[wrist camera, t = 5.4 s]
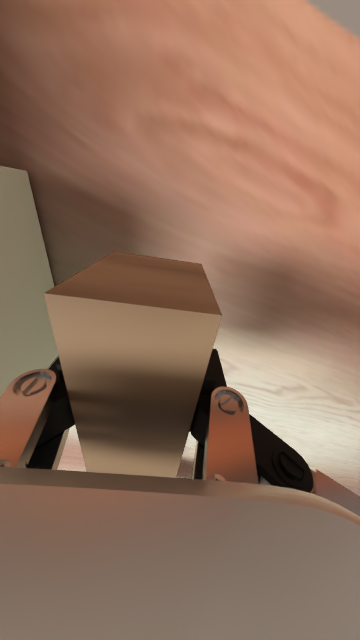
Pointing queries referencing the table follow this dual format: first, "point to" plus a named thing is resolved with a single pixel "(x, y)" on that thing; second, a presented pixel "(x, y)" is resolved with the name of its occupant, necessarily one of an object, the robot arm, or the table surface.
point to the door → (22, 282)
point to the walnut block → (134, 358)
